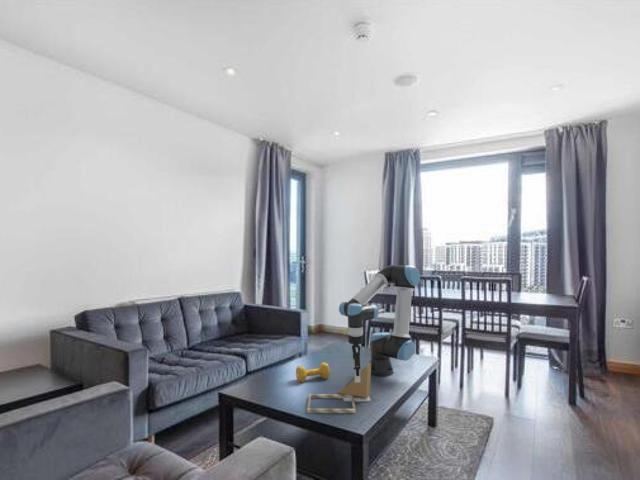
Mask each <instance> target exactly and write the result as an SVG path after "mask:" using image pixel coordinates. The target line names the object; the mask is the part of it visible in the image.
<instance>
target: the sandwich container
mask: <svg viewBox="0 0 640 480" xmlns="http://www.w3.org/2000/svg"><path fill="white" fill-rule="evenodd" d="M360 380H361V382H355V376H354V377H353V378H351V380H349V381H348V382H347V383H345V385H343V387H342V388H340V389H339V391H337V394H342V395H343V394H346V395H353V396H360V397H368V395H369V396H370V394H371V382H372V381H371V380H372V374H371V363H370V364H369V363H368V364H367V365H365V366H364V367H363V368H362V369H360Z"/></svg>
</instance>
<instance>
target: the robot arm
mask: <svg viewBox="0 0 640 480" xmlns="http://www.w3.org/2000/svg"><path fill="white" fill-rule="evenodd" d="M373 276H374V277H373V279H371V280H370V281H369V282H368V283H367V284H366V285H365V286H364V287H362V289H360V290H359V291H358V292H357V293H356V294H355V295H354V296H353V297H352V298H350V300H348V302H347V301H343V302H341V303H340V304H339V307H338V312H339V313H340V315H341V316H344V317H347V328H346V330H347V331H348V341H347V342H348V343H349V344H350V345H351V350H352V372H353V373H354V377H355V382H361V380H360V371H361V358H360V357H361V346H360V345H361V344H363V343H364V322H366V321H371V320H374V319H376V318H378V316H379V313H380V312H379V307H378V306H377V305H375V304H373V303H372V304H371V303H370V304H368V302H369V301H371V299H373V298H374V297H375V295H377V293H379V292H380V291H381V290H382V289H383V288H387V287H388V286H389V285H394V288H395V289H396V300H395V310H394V311H395V312H394V322H393V331H392V332H391V333H390V332H389V331H387V332H386V331H385V332H383V331H382V332H374V333H372V334H371V335H370V340H369V341H370V343H369V344H370V360H369V363H368V364H370V363H371V375H373V376H379V377H387V376H391V375H392V374H393V373H394V366H393V364H392V360H391V358H392V359H395V360H398V361H404V362H407V361H409V360H410V359H411V358H412V357H413V356H414V353H415V343H414V341H412V336H411V335H410V334H409V332H410V323H411V322H410V321H411V309H412V298H413V295H412V294H413V292H414V291H415V290H416V286H419V284H420V282H421V281H420V280H421V275H420V271H419V269H418V268H417V267H416V266H415V265H410V264H407V265H405V264H403V265H402V264H390V265H388V266H387V265H386V266H385V267H384V268H382V269H381V270H379V271H377V273H376V274H375V275H373Z"/></svg>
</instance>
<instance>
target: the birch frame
mask: <svg viewBox="0 0 640 480" xmlns="http://www.w3.org/2000/svg"><path fill="white" fill-rule="evenodd" d="M343 397H351V398H352V401H351V405H352V407H351V408H311V401H312V399H343ZM355 404H356V403H355V401H354V396H353V395H343V394H340V393H337V394H336V393H335V394H334V393H333V394H331V393H330V394H325V393H324V394H323V393H320V394H318V393H317V394H316V393H312V394H311V393H309V395H308V401H307V406H306V413H311V414H313V413H315V414H356V413H357V411H356V405H355Z"/></svg>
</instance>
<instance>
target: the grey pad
mask: <svg viewBox="0 0 640 480" xmlns="http://www.w3.org/2000/svg"><path fill="white" fill-rule="evenodd" d="M342 395H346V394H342ZM342 400H343V402H352V398H351V397H343V398H342ZM354 402H362V403H364V402H367V403H368V402H371V397H370V394H369V395H368V397H360V396H354Z"/></svg>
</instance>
